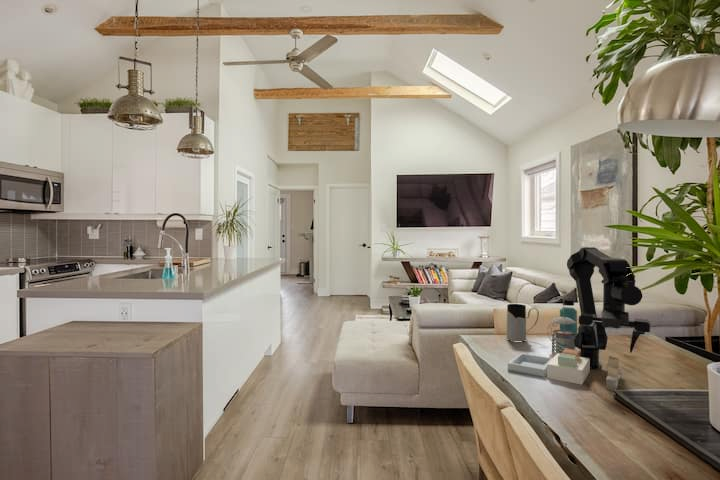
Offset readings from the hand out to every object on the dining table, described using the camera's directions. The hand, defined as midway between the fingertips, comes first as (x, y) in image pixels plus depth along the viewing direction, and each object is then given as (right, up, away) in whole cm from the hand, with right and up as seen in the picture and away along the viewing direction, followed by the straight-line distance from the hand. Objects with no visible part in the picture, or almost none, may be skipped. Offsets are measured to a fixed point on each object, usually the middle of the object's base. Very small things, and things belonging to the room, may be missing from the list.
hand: (613, 349), depth 130 cm
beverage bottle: (+4, -10, +37) cm, 39 cm away
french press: (-3, -10, +27) cm, 29 cm away
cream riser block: (-10, -10, +8) cm, 16 cm away
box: (-20, -10, +14) cm, 26 cm away
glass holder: (-8, -10, +53) cm, 54 cm away
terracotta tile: (-8, -6, +10) cm, 14 cm away
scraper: (0, -11, 0) cm, 11 cm away
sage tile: (-12, -6, +5) cm, 14 cm away
